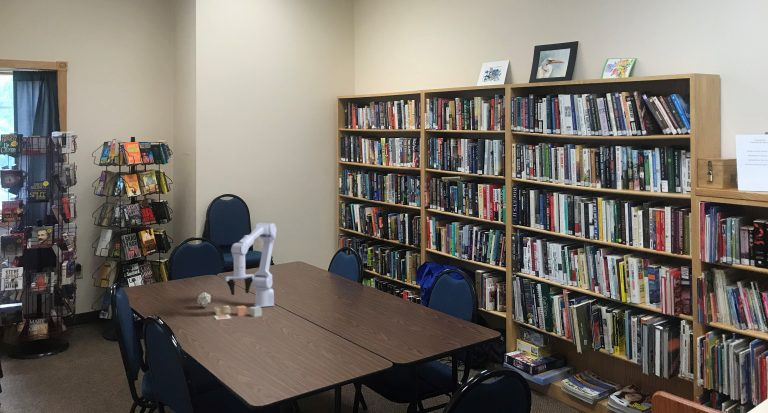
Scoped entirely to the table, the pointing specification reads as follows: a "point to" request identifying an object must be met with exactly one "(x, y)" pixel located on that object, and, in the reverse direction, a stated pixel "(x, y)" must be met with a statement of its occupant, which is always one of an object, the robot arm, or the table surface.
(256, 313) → the grey block
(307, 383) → the table surface
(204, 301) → the game die
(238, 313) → the terracotta block
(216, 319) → the tile
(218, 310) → the maple block
